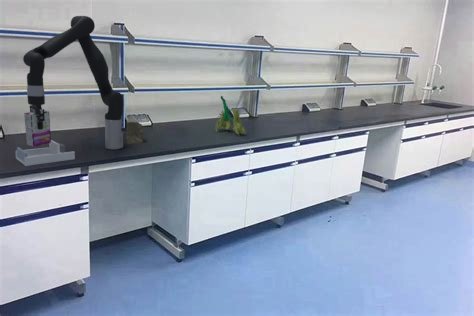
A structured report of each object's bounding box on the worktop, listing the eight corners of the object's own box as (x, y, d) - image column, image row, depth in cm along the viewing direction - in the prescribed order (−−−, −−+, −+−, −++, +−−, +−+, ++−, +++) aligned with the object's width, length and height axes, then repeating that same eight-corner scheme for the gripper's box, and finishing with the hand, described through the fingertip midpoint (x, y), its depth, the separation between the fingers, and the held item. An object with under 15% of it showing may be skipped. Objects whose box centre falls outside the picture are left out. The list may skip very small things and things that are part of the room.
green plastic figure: (249, 133, 297) (247, 93, 286) (234, 139, 285) (232, 97, 275) (223, 128, 313) (221, 90, 303) (208, 134, 301) (205, 94, 291)
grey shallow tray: (63, 152, 220) (63, 142, 219) (74, 159, 210) (74, 148, 209) (16, 158, 204) (15, 147, 202) (25, 166, 194) (24, 154, 192)
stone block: (134, 138, 264) (134, 115, 260) (143, 143, 252) (143, 120, 248) (119, 139, 258) (119, 116, 254) (127, 144, 246) (127, 120, 242)
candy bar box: (44, 141, 209) (42, 109, 204) (51, 142, 207) (49, 111, 202) (25, 145, 199) (23, 112, 194) (33, 147, 197) (31, 114, 192)
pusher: (59, 151, 217) (58, 138, 215) (67, 156, 209) (67, 143, 207) (49, 152, 213) (48, 139, 211) (58, 158, 205) (57, 144, 203)
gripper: (49, 96, 194) (51, 130, 198) (38, 92, 204) (40, 124, 208) (32, 96, 189) (35, 131, 193) (22, 92, 199) (25, 125, 203)
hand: (38, 127), depth 201 cm, fingers closed on candy bar box, 6 cm apart
